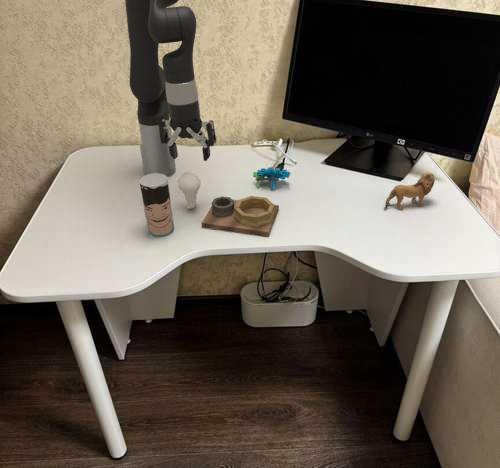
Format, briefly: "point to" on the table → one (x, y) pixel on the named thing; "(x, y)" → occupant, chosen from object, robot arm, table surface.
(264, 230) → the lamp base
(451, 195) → the table surface
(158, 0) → the robot arm
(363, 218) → the table surface
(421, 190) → the lion figurine
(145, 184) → the face-printed can
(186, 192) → the lightbulb
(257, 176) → the gear
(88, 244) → the table surface
